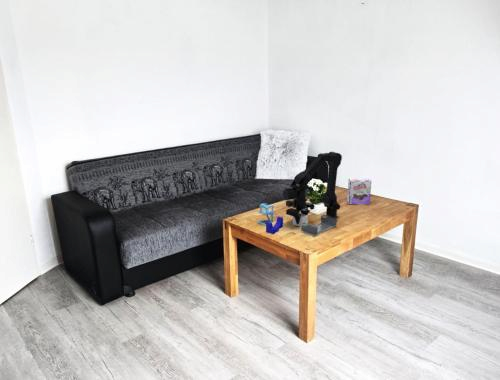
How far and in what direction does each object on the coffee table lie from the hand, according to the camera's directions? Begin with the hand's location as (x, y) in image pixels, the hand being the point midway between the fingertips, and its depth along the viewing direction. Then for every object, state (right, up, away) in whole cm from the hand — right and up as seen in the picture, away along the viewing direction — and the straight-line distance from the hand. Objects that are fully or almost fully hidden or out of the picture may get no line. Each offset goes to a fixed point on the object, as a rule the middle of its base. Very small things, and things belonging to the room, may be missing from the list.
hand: (300, 223), depth 233 cm
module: (0, -1, 0) cm, 1 cm away
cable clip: (-14, -4, -6) cm, 16 cm away
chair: (-19, 0, +4) cm, 19 cm away
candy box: (+43, +10, +35) cm, 56 cm away
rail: (+10, -3, -7) cm, 12 cm away
